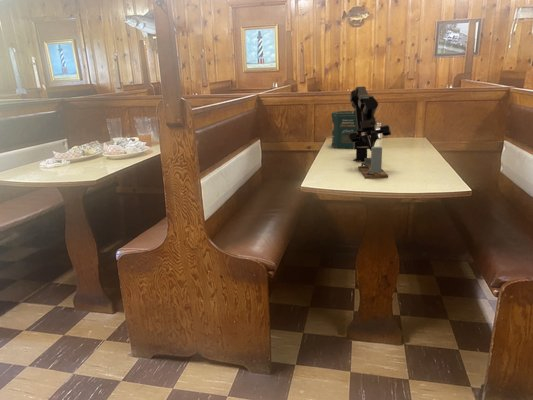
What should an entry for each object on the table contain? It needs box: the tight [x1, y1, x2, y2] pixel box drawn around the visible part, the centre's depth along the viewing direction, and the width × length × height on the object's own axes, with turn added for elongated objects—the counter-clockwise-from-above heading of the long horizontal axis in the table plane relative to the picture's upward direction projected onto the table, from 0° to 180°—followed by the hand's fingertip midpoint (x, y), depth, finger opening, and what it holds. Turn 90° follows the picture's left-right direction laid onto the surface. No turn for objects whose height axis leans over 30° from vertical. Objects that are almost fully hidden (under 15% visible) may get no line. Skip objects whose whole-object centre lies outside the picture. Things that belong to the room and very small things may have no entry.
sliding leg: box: [367, 146, 383, 174], centre depth 190 cm, size 3×6×12 cm, turn 88°
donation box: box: [331, 109, 357, 150], centre depth 264 cm, size 16×16×28 cm
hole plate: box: [357, 157, 389, 179], centre depth 199 cm, size 20×10×5 cm, turn 178°
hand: (371, 150), depth 200 cm, fingers closed
